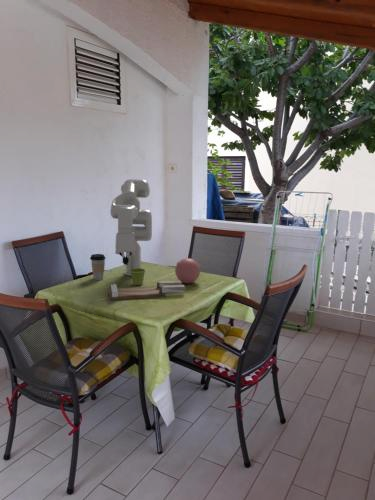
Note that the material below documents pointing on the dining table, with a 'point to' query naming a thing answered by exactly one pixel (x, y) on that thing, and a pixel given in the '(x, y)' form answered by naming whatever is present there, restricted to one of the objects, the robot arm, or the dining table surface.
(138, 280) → the plant pot
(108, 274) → the dining table surface
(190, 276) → the balloon
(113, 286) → the folding leg
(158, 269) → the dining table surface
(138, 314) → the dining table surface
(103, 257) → the coffee cup
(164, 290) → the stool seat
